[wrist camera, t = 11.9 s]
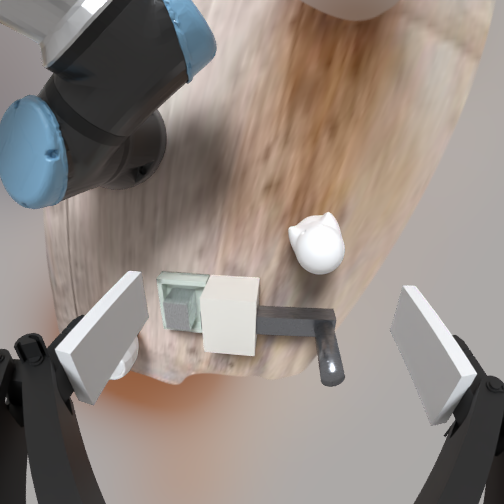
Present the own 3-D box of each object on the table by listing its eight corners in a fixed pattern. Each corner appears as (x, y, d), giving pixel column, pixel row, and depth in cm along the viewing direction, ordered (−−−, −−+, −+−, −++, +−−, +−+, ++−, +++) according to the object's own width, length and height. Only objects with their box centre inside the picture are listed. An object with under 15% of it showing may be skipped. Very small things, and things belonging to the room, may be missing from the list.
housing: (213, 324, 52) (204, 351, 45) (210, 274, 48) (199, 298, 41) (257, 328, 52) (254, 356, 45) (259, 277, 48) (256, 302, 41)
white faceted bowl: (88, 300, 53) (63, 326, 44) (140, 305, 52) (117, 336, 43) (104, 347, 58) (84, 375, 49) (152, 355, 57) (135, 387, 48)
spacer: (197, 314, 51) (175, 312, 51) (195, 289, 49) (172, 287, 49) (190, 331, 46) (166, 328, 46) (187, 304, 44) (162, 302, 45)
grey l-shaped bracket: (205, 318, 48) (183, 377, 35) (204, 301, 47) (180, 359, 34) (330, 325, 47) (343, 386, 34) (333, 308, 46) (348, 369, 33)
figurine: (327, 201, 42) (344, 224, 31) (343, 246, 45) (362, 281, 34) (283, 218, 44) (284, 247, 33) (301, 262, 46) (307, 302, 35)
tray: (168, 319, 53) (163, 328, 50) (162, 271, 49) (156, 278, 46) (212, 324, 52) (209, 333, 50) (209, 274, 48) (205, 282, 46)
